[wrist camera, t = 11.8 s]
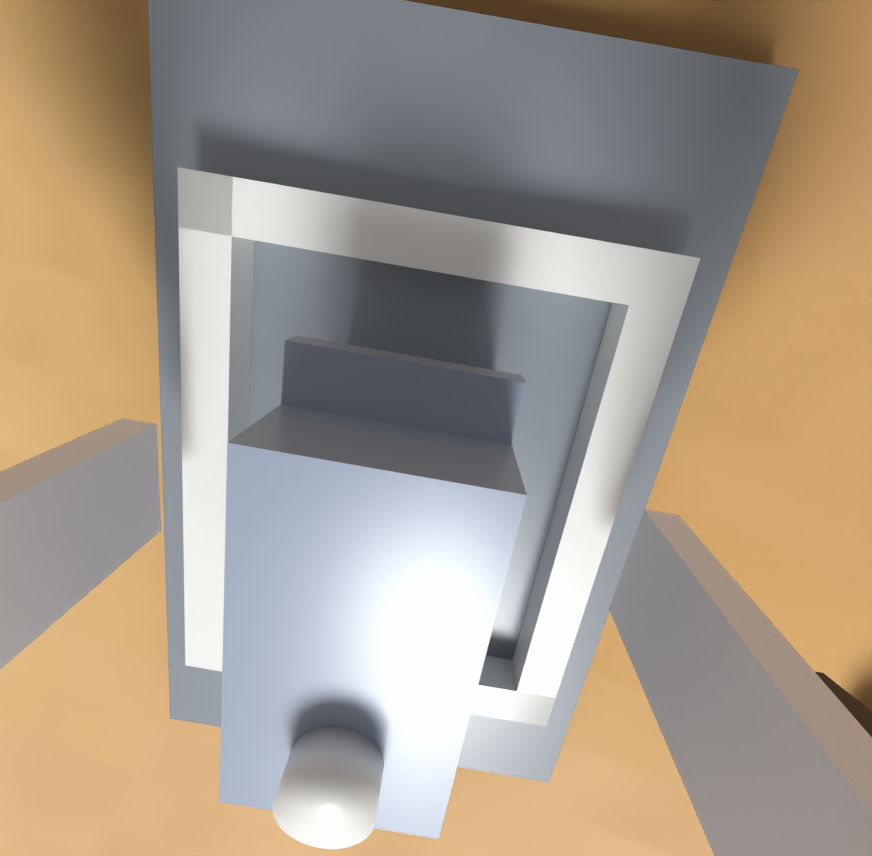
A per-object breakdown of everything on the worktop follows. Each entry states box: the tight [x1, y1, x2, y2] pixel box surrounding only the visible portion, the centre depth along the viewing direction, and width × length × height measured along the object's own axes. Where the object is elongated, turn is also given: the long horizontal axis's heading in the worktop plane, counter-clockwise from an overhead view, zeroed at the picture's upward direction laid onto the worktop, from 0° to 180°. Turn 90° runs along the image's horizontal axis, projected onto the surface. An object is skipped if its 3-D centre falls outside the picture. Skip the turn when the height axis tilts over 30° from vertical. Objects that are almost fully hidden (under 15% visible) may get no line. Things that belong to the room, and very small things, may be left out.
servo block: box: [220, 336, 527, 849], centre depth 10 cm, size 9×4×7 cm, turn 171°
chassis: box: [148, 0, 799, 782], centre depth 13 cm, size 22×14×2 cm, turn 171°
